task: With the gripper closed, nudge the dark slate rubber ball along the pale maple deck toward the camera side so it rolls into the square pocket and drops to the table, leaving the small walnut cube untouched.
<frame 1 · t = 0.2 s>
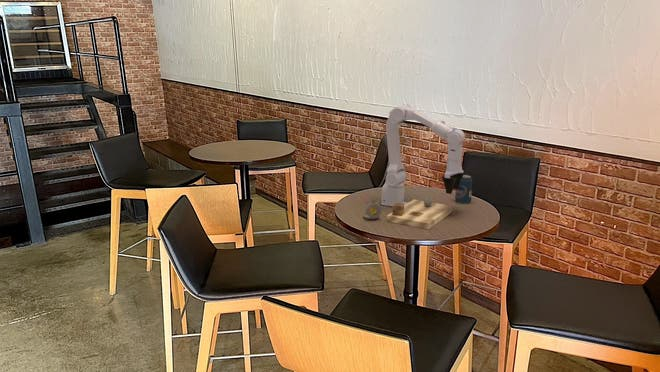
hand: (452, 191, 209), 10 cm above the table, fingers open, 7 cm apart
soda can: (462, 202, 228), on the table
pocket watch: (371, 218, 207), on the table
ball: (427, 202, 213), point 4 cm above the table, touching deck
deck: (420, 216, 209), on the table
walnut cube: (398, 214, 204), point 2 cm above the table, touching deck
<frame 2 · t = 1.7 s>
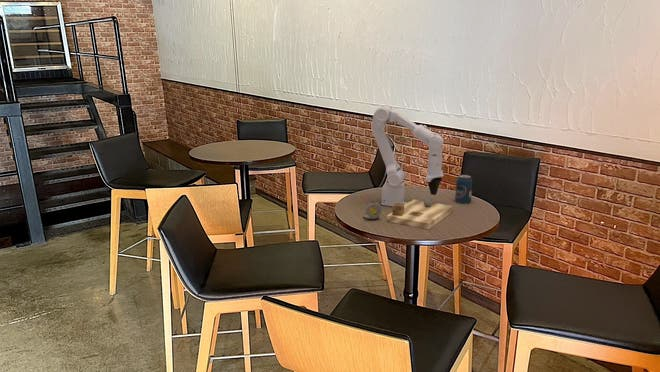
hand: (433, 194, 218), 6 cm above the table, fingers closed
nothing on the table moved.
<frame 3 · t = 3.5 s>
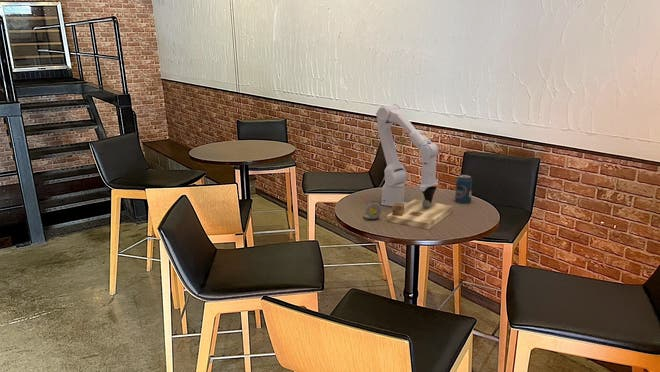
hand: (428, 203, 212), 4 cm above the table, fingers closed, pressing on ball
ball: (426, 203, 211), point 4 cm above the table, tilted 76°, touching deck, gripper
everything else where it was.
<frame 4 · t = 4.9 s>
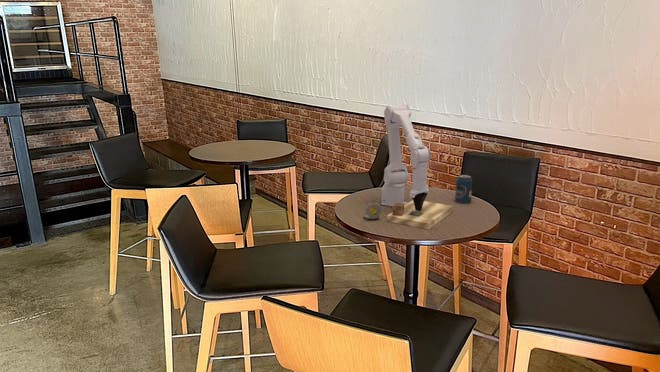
hand: (418, 210, 206), 3 cm above the table, fingers closed
ball: (416, 215, 205), point 2 cm above the table, tilted 75°
everything else where it was.
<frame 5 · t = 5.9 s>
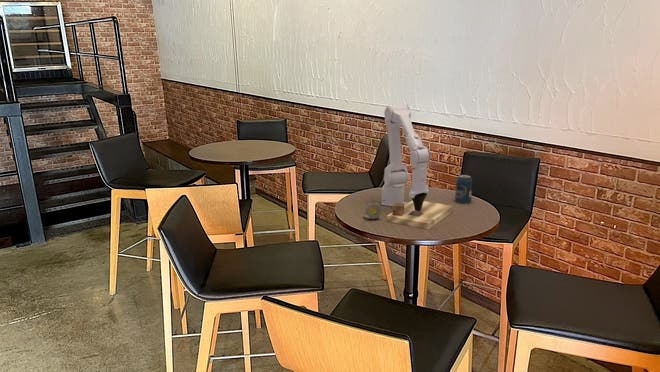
hand: (417, 210, 206), 3 cm above the table, fingers closed
ball: (415, 215, 205), point 2 cm above the table, tilted 87°
everything else where it was.
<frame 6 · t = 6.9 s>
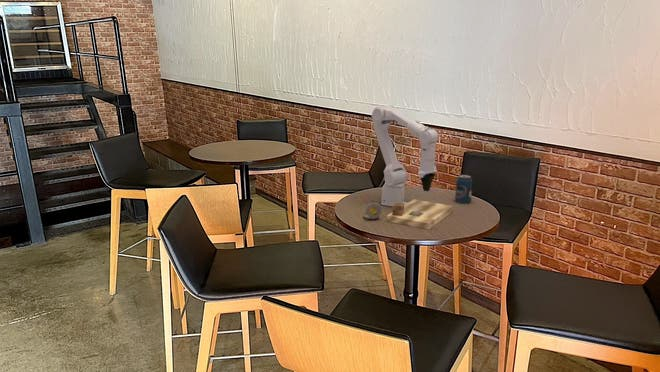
hand: (426, 190, 210), 10 cm above the table, fingers closed
ball: (415, 215, 204), point 2 cm above the table, tilted 99°
everything else where it was.
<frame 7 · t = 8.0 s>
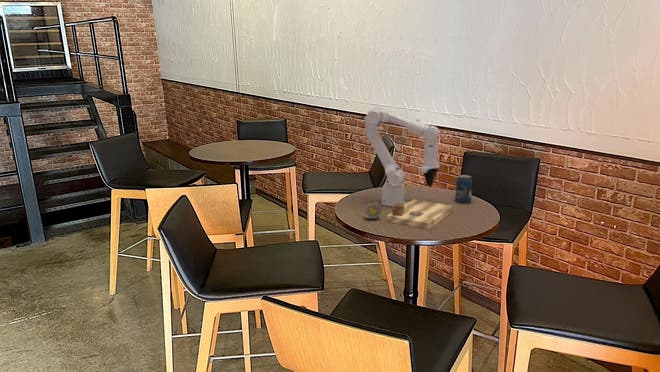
hand: (429, 185, 218), 10 cm above the table, fingers closed
ball: (415, 215, 204), point 2 cm above the table, tilted 112°
everything else where it was.
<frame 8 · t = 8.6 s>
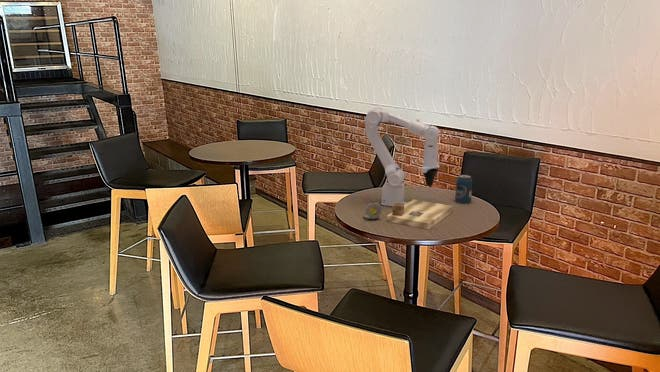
hand: (429, 185, 218), 10 cm above the table, fingers closed
ball: (414, 216, 204), point 2 cm above the table, tilted 119°
everything else where it was.
at the end: ball 0.7 cm from the target spot on the deck, point 1.7 cm above the deck's base; ball point 1.7 cm above the table; walnut cube moved 0.0 cm from its start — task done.
